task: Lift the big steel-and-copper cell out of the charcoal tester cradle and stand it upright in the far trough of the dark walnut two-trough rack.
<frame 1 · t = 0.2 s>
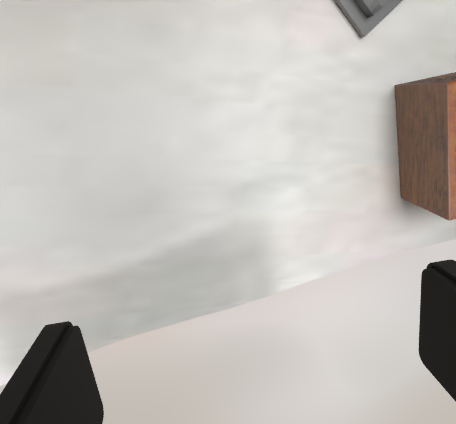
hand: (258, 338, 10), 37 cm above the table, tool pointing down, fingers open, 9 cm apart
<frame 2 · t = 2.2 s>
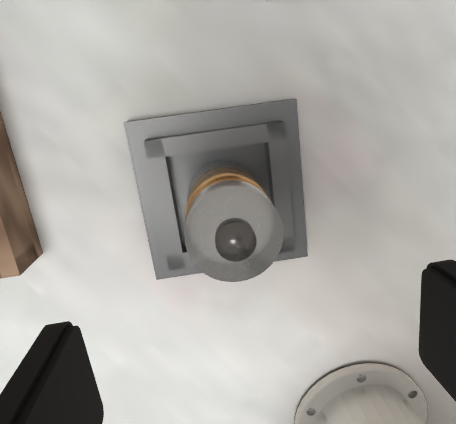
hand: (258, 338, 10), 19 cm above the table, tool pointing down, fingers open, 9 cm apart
tester cradle: (221, 191, 28), on the table
cell: (222, 194, 27), point 1 cm above the table, touching tester cradle
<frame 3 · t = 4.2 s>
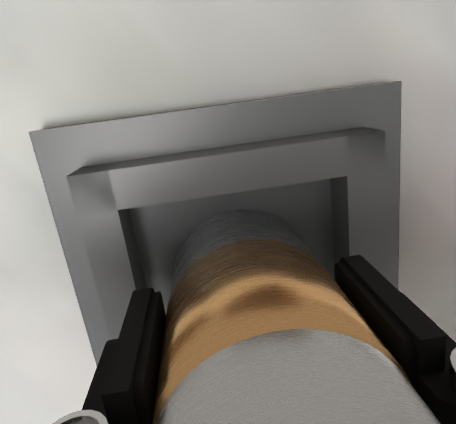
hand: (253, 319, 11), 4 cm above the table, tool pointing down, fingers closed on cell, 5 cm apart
tester cradle: (238, 262, 15), on the table
cell: (241, 273, 14), point 1 cm above the table, touching gripper, tester cradle
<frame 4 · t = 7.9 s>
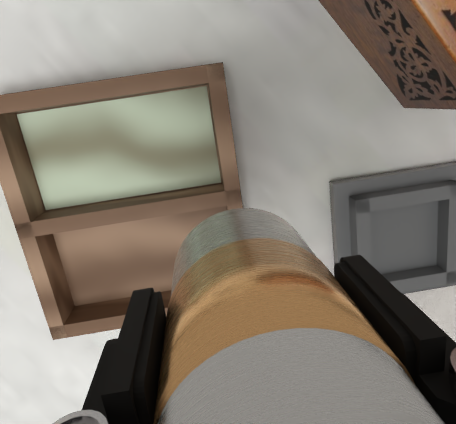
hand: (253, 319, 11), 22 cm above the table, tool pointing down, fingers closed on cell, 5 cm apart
trough rack: (137, 201, 32), on the table
tester cradle: (395, 233, 35), on the table
cell: (242, 273, 14), point 19 cm above the table, touching gripper
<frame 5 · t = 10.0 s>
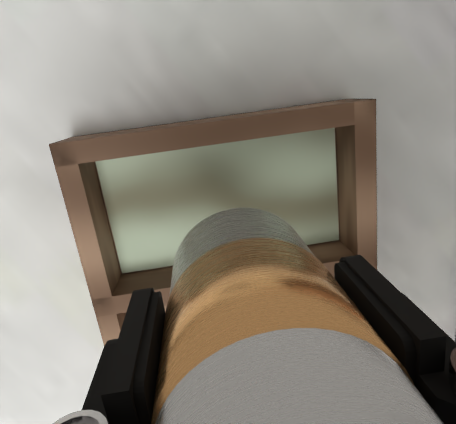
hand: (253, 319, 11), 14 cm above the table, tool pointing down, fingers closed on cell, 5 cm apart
trough rack: (231, 259, 26), on the table
cell: (241, 273, 13), point 12 cm above the table, touching gripper
when the fingers open (6 cm above the table, at t = 11.9 s): cell drops 2 cm, resting on trough rack.
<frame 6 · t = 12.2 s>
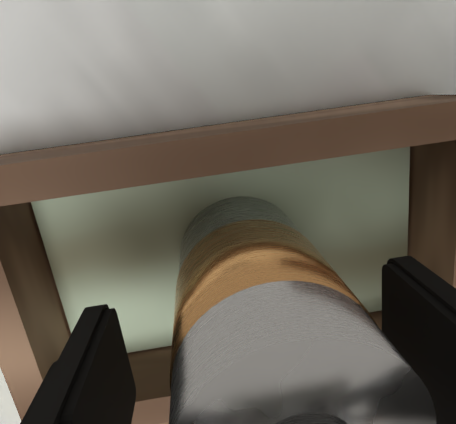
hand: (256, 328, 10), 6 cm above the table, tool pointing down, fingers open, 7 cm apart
trough rack: (245, 332, 18), on the table
cell: (240, 254, 15), point 1 cm above the table, touching trough rack
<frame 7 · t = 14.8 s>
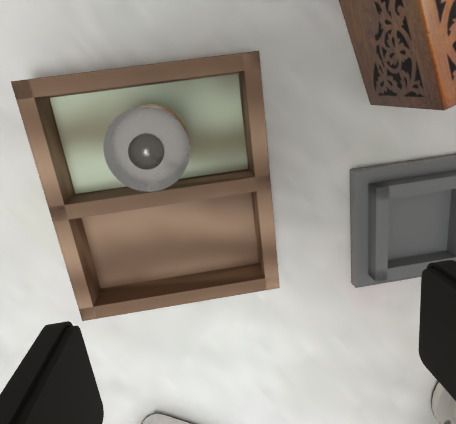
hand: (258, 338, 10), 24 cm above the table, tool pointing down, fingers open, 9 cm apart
trough rack: (165, 186, 33), on the table
tester cradle: (409, 220, 36), on the table
cell: (157, 136, 30), point 1 cm above the table, touching trough rack
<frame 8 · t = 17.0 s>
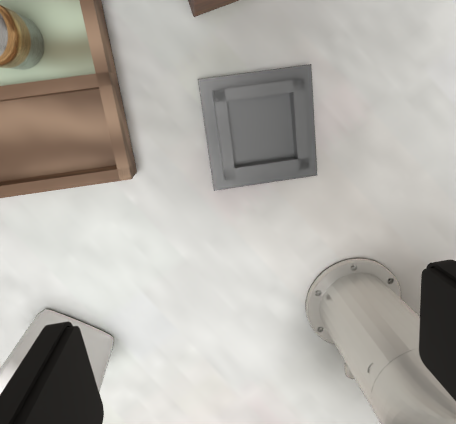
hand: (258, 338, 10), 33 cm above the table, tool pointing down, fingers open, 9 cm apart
trough rack: (33, 91, 38), on the table
tester cradle: (259, 129, 41), on the table
cell: (17, 42, 36), point 1 cm above the table, touching trough rack
photo printer: (76, 331, 47), on the table
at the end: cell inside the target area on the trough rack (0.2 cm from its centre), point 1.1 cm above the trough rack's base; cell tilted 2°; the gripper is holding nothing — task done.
